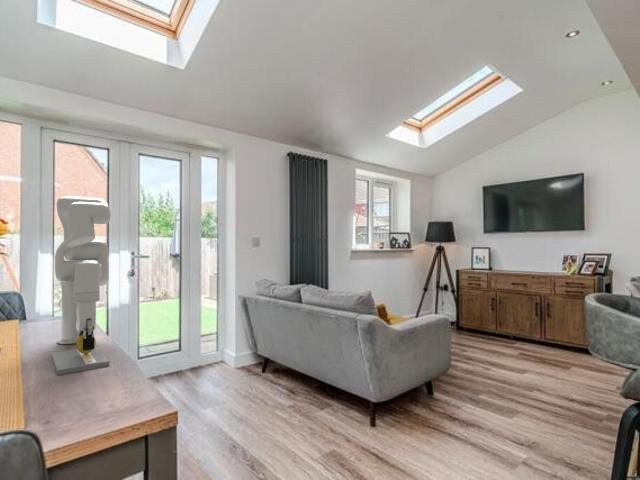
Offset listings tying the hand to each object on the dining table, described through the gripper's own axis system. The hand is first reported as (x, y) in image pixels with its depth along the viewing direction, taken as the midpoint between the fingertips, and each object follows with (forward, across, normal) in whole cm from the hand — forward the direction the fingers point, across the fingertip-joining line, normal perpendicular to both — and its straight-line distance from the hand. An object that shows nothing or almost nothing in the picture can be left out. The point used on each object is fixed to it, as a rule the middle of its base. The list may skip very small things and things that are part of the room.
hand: (86, 346), depth 126 cm
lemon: (+3, 0, 0) cm, 3 cm away
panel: (+5, 0, -2) cm, 5 cm away
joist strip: (+3, 0, 0) cm, 3 cm away
